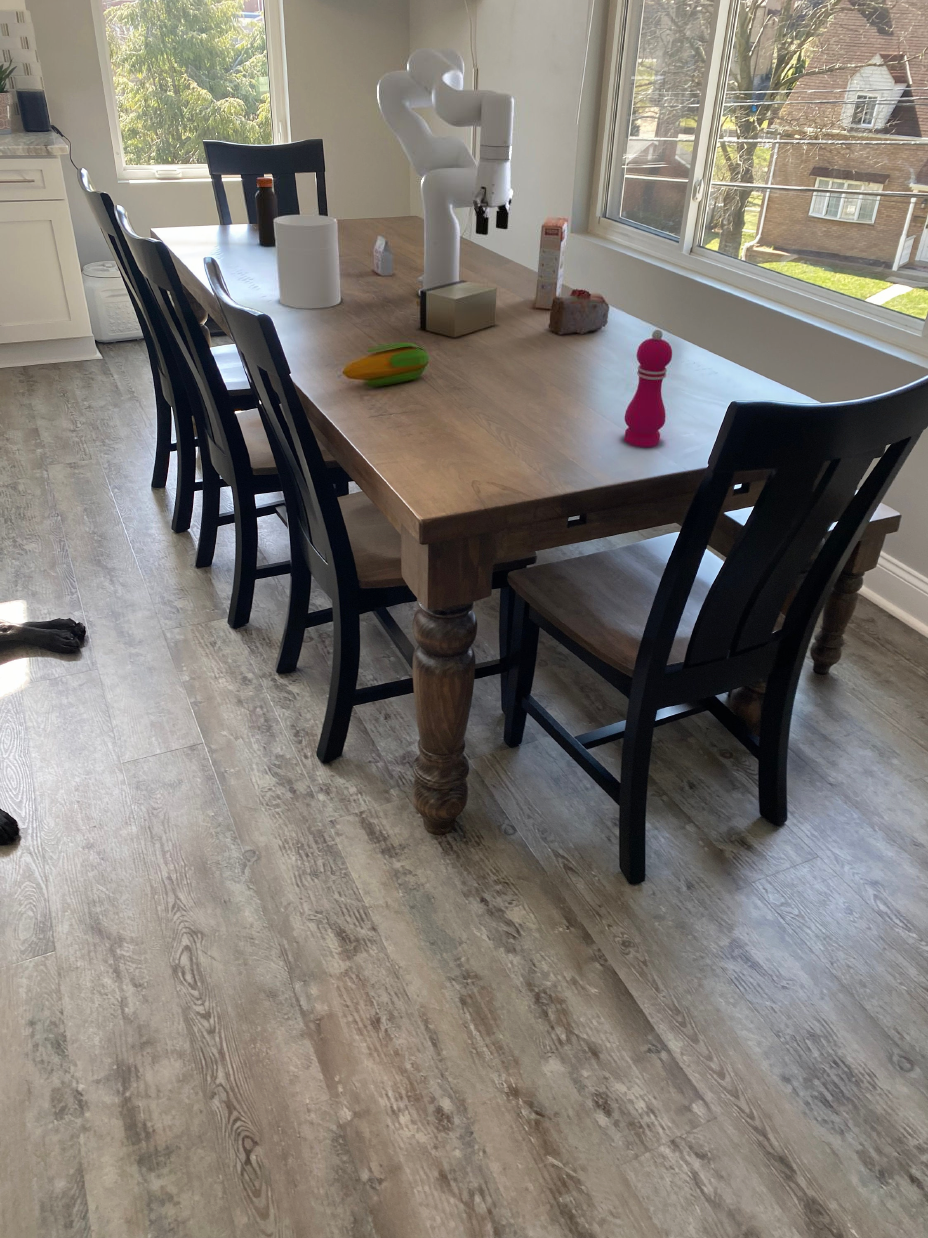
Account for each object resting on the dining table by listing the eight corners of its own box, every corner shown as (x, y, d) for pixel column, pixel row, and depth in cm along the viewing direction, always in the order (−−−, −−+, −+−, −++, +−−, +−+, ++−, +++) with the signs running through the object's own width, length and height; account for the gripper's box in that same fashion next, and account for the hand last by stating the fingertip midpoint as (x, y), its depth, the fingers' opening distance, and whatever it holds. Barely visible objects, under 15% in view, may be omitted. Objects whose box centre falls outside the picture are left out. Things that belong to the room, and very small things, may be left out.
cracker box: (556, 310, 237) (563, 226, 226) (533, 308, 238) (540, 224, 226) (562, 298, 249) (569, 217, 237) (540, 296, 249) (546, 215, 238)
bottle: (278, 246, 295) (272, 180, 284) (257, 246, 294) (251, 179, 284) (282, 242, 300) (276, 177, 289) (261, 242, 300) (256, 176, 289)
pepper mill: (632, 430, 166) (647, 321, 155) (668, 439, 163) (686, 329, 152) (614, 442, 161) (629, 330, 150) (651, 452, 158) (669, 338, 147)
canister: (352, 301, 238) (350, 220, 227) (305, 311, 228) (300, 227, 217) (315, 290, 247) (310, 212, 236) (267, 299, 237) (260, 218, 226)
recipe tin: (403, 324, 221) (403, 286, 216) (445, 312, 231) (446, 276, 226) (454, 337, 212) (455, 298, 207) (495, 324, 223) (496, 287, 218)
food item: (590, 323, 227) (595, 283, 222) (609, 331, 222) (614, 290, 216) (545, 328, 222) (549, 287, 216) (563, 337, 216) (566, 295, 211)
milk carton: (385, 269, 271) (384, 234, 265) (392, 274, 266) (392, 239, 260) (373, 270, 270) (372, 235, 264) (381, 275, 265) (380, 239, 259)
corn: (436, 341, 183) (351, 356, 173) (437, 378, 187) (353, 394, 177) (417, 335, 188) (333, 348, 178) (418, 371, 192) (336, 386, 182)
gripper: (499, 149, 218) (496, 224, 228) (462, 154, 206) (460, 234, 215) (526, 152, 215) (521, 228, 224) (490, 158, 203) (487, 238, 212)
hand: (491, 231), depth 220 cm, fingers open, 9 cm apart
